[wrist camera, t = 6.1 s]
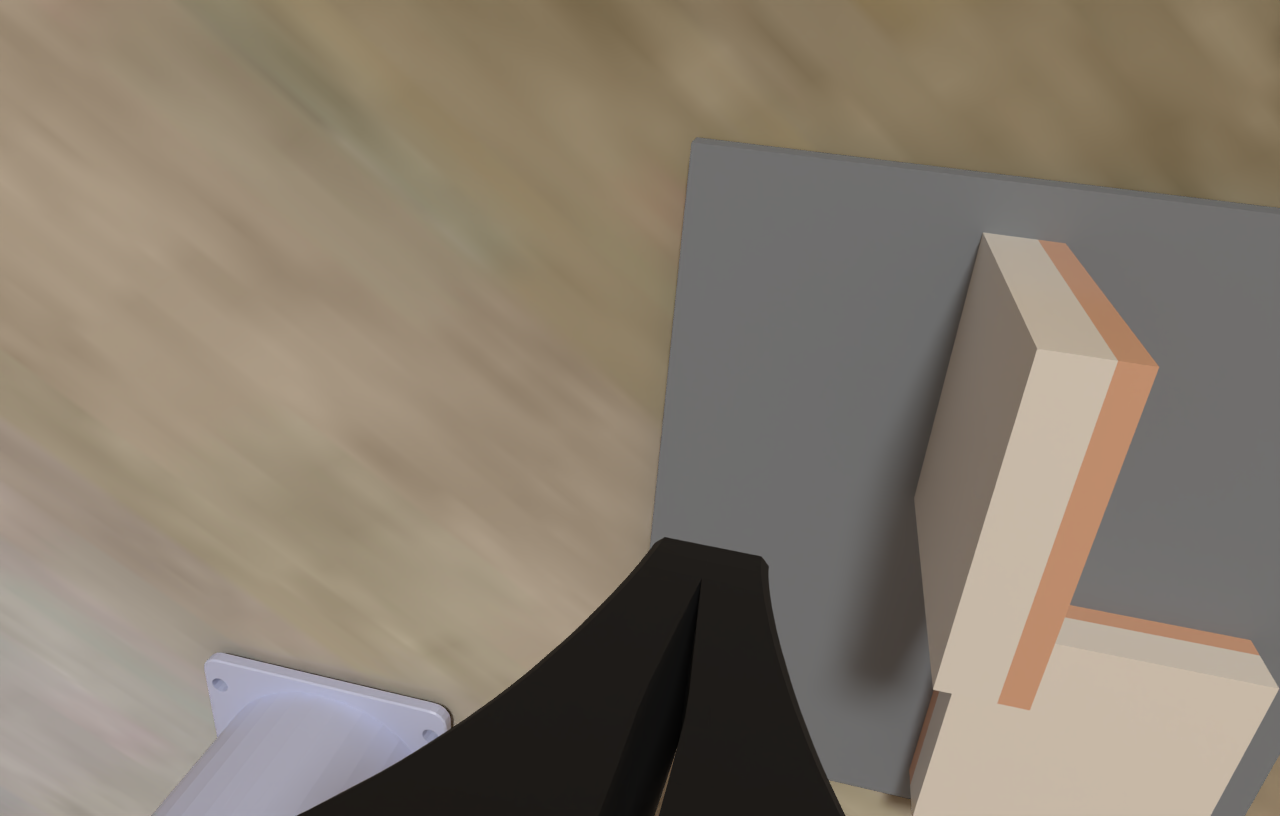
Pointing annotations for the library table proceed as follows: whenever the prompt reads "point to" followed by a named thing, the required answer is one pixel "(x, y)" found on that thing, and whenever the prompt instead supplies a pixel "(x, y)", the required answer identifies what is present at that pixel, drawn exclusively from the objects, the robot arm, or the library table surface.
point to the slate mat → (907, 404)
